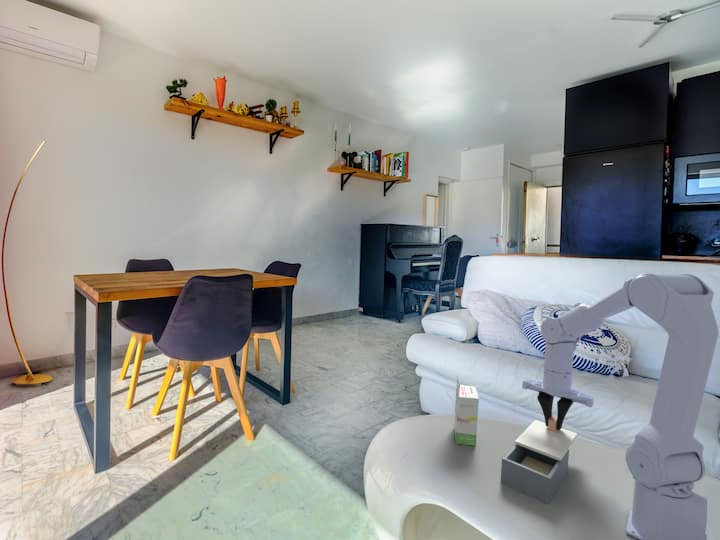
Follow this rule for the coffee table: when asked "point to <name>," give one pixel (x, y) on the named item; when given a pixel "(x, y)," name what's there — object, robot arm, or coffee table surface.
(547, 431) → the lid
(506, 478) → the box
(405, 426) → the coffee table surface
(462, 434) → the ink box
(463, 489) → the coffee table surface
